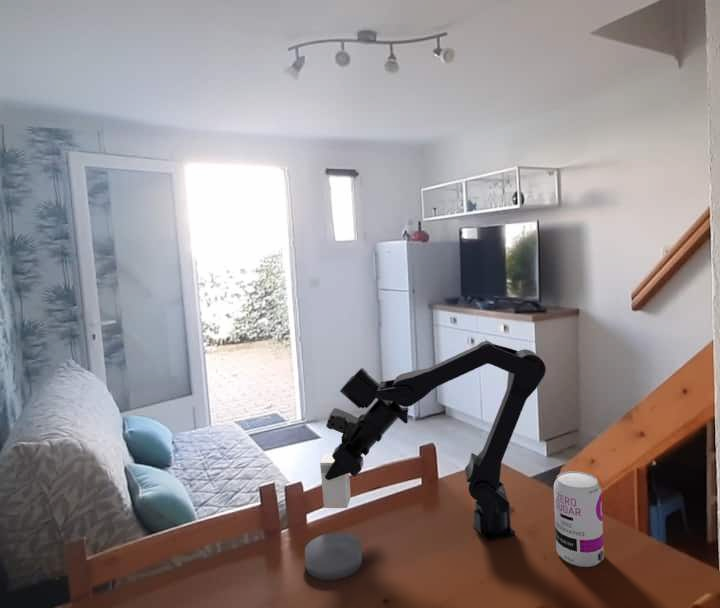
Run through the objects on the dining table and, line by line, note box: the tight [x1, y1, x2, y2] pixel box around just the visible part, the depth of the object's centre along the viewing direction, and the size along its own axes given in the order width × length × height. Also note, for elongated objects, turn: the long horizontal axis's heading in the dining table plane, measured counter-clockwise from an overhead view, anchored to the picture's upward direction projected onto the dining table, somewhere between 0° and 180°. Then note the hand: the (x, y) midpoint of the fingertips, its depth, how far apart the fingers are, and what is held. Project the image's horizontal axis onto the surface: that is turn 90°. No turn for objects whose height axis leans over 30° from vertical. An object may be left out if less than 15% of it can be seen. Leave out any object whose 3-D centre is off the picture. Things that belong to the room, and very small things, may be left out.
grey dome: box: [304, 532, 363, 581], centre depth 100 cm, size 11×11×3 cm
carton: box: [319, 453, 352, 509], centre depth 111 cm, size 5×5×10 cm
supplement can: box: [553, 471, 605, 568], centre depth 96 cm, size 8×8×15 cm
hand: (329, 473), depth 111 cm, fingers closed on carton, 5 cm apart
